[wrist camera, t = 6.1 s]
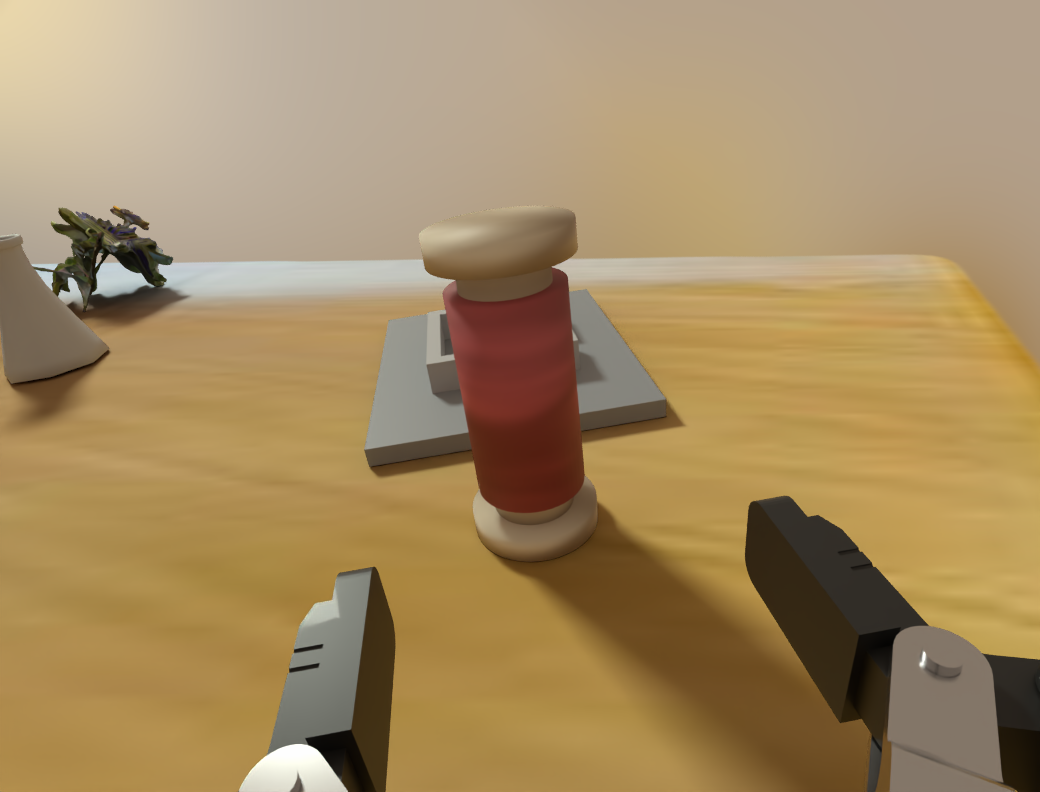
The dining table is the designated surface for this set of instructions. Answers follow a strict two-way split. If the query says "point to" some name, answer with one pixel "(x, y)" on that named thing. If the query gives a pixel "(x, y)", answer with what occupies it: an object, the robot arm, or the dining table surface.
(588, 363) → the board
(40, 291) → the flask
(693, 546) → the dining table surface
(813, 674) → the robot arm
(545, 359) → the bobbin
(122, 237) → the passion flower
